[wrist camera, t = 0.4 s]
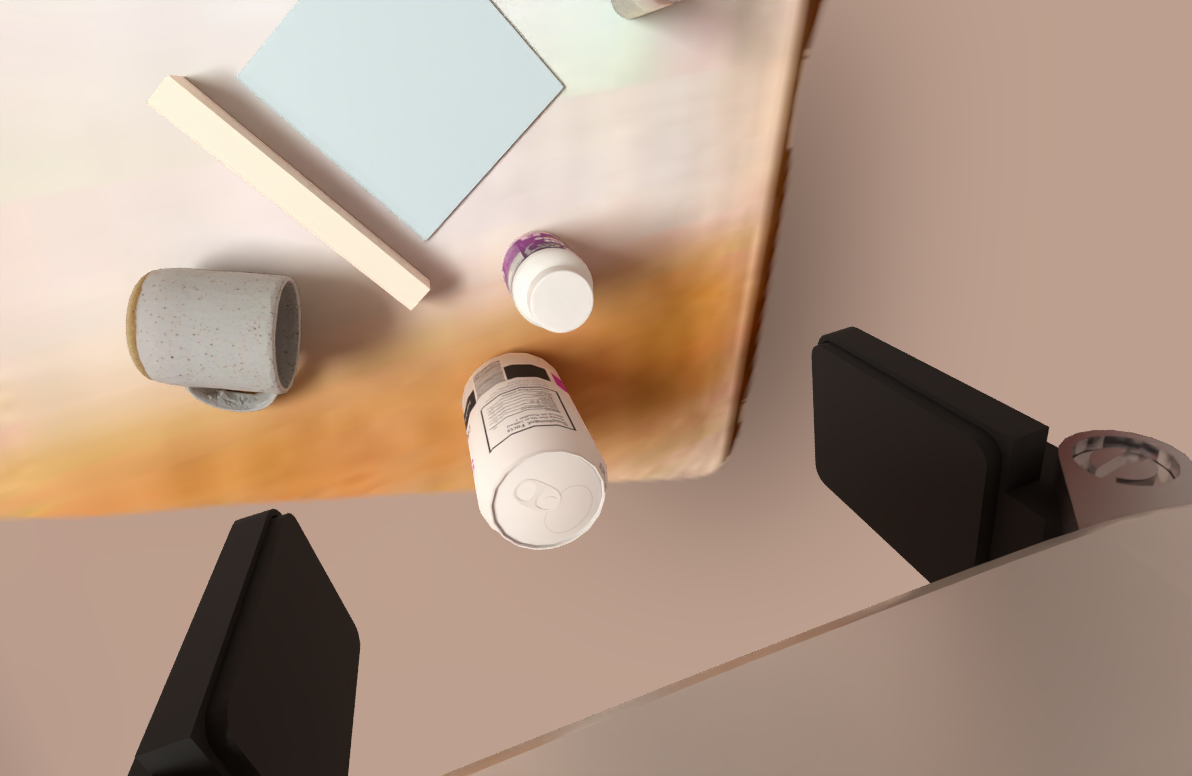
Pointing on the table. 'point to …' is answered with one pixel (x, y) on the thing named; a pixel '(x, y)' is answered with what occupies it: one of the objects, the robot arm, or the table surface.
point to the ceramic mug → (217, 334)
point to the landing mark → (404, 94)
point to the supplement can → (531, 453)
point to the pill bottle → (548, 282)
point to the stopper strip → (286, 187)
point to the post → (639, 7)
